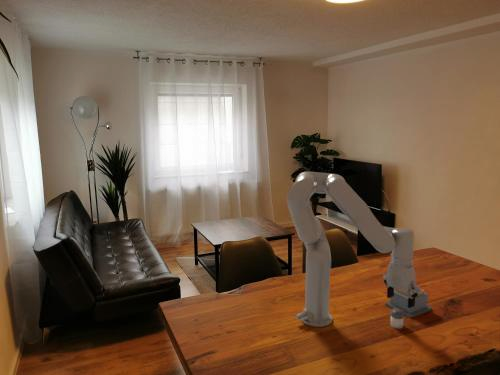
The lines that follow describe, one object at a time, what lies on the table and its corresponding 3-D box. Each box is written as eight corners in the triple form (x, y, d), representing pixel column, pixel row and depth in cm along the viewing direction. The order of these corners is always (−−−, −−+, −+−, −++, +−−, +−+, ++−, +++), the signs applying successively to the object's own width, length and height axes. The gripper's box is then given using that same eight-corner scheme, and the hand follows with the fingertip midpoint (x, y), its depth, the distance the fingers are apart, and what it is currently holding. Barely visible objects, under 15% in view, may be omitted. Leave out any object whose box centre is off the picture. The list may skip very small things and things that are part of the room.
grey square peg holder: (410, 318, 159) (412, 299, 157) (384, 305, 170) (386, 286, 168) (432, 309, 166) (433, 290, 164) (406, 297, 177) (407, 279, 175)
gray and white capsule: (397, 329, 151) (398, 315, 150) (387, 324, 155) (388, 310, 154) (405, 326, 153) (406, 312, 152) (395, 320, 157) (396, 307, 156)
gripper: (377, 255, 154) (376, 296, 158) (415, 269, 140) (413, 313, 143) (390, 251, 158) (389, 291, 161) (428, 265, 143) (426, 308, 147)
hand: (400, 301), depth 152 cm, fingers open, 9 cm apart
